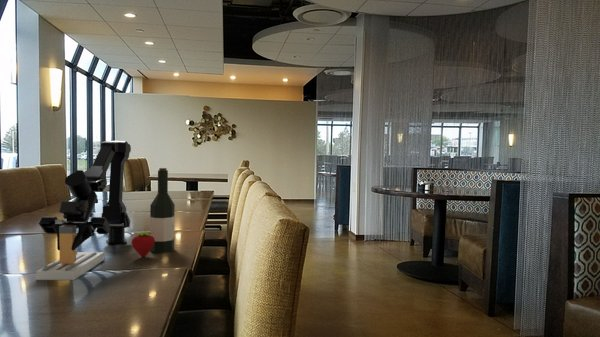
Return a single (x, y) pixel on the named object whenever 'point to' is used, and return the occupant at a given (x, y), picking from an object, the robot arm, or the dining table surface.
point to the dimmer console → (70, 267)
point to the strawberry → (143, 243)
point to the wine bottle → (162, 216)
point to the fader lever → (67, 244)
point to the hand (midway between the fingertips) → (65, 249)
